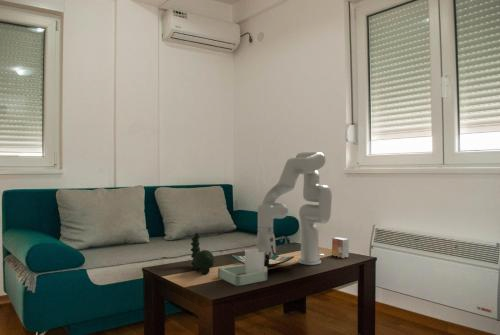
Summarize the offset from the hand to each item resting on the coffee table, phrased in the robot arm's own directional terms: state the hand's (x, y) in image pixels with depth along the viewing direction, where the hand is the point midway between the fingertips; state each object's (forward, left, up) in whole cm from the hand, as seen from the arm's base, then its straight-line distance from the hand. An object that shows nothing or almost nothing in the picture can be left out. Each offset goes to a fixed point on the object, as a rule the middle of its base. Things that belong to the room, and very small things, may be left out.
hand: (265, 267), depth 188 cm
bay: (+13, 0, -3) cm, 13 cm away
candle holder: (+6, 0, -3) cm, 7 cm away
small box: (-59, -7, -3) cm, 60 cm away
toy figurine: (+23, -23, -3) cm, 33 cm away
